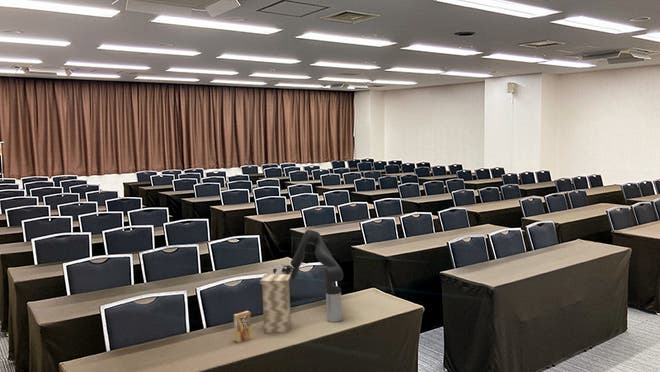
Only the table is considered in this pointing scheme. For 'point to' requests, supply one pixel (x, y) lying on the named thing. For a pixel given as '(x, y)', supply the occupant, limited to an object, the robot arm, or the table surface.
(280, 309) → the pedestal
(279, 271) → the toggle bar
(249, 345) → the table surface
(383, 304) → the table surface
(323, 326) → the table surface
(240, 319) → the candy box
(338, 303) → the robot arm
